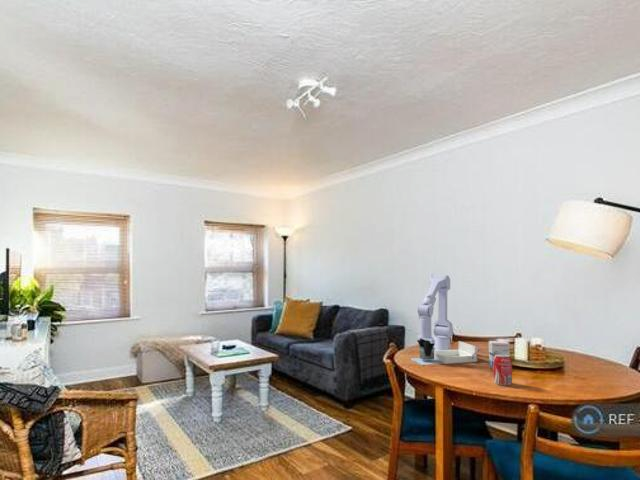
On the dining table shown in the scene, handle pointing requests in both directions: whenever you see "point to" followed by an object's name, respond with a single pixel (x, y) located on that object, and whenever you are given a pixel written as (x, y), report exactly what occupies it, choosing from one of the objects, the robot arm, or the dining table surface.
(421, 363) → the mat
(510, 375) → the soda can
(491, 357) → the ink box
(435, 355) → the case
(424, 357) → the block
